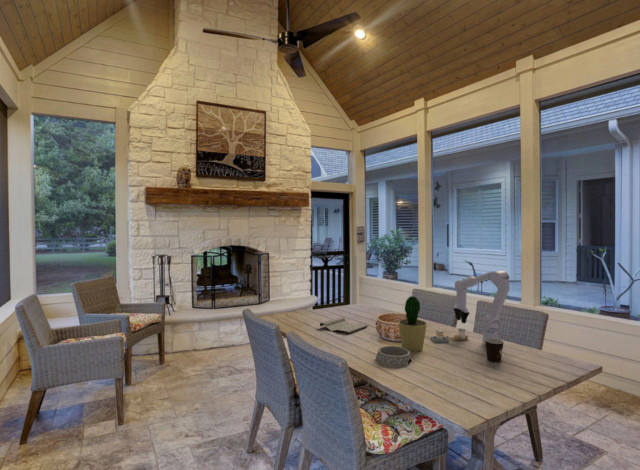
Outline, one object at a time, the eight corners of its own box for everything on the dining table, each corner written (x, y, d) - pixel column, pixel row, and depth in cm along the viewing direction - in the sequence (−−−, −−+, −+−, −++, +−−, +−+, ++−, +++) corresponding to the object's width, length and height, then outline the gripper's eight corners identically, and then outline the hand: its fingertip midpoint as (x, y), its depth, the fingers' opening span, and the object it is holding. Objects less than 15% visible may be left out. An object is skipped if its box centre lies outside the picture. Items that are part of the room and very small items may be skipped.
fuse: (466, 340, 225) (466, 330, 225) (459, 340, 225) (460, 330, 225) (463, 338, 229) (463, 328, 229) (457, 338, 229) (457, 328, 229)
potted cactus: (415, 355, 202) (415, 299, 201) (392, 347, 214) (393, 295, 213) (432, 348, 212) (432, 295, 211) (409, 342, 223) (410, 291, 223)
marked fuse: (444, 342, 222) (444, 332, 222) (437, 342, 222) (437, 332, 222) (441, 340, 226) (441, 330, 226) (435, 340, 226) (435, 330, 226)
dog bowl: (415, 358, 197) (415, 348, 197) (404, 370, 182) (404, 359, 181) (384, 352, 206) (384, 343, 206) (371, 363, 190) (371, 352, 190)
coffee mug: (492, 364, 189) (493, 344, 188) (481, 358, 197) (481, 339, 197) (512, 361, 192) (512, 342, 192) (499, 356, 200) (500, 337, 200)
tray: (448, 344, 220) (448, 340, 220) (435, 344, 220) (435, 340, 220) (443, 339, 228) (443, 336, 228) (430, 340, 228) (430, 336, 228)
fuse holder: (470, 342, 224) (470, 336, 224) (447, 342, 223) (447, 337, 223) (465, 338, 231) (465, 333, 231) (443, 338, 230) (443, 333, 230)
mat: (348, 336, 238) (348, 328, 237) (319, 329, 252) (319, 322, 252) (368, 328, 256) (368, 321, 256) (339, 322, 270) (339, 316, 270)
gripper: (450, 297, 240) (450, 318, 240) (459, 302, 225) (459, 324, 226) (461, 297, 240) (460, 318, 240) (471, 302, 226) (471, 324, 226)
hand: (461, 321), depth 233 cm, fingers open, 7 cm apart
